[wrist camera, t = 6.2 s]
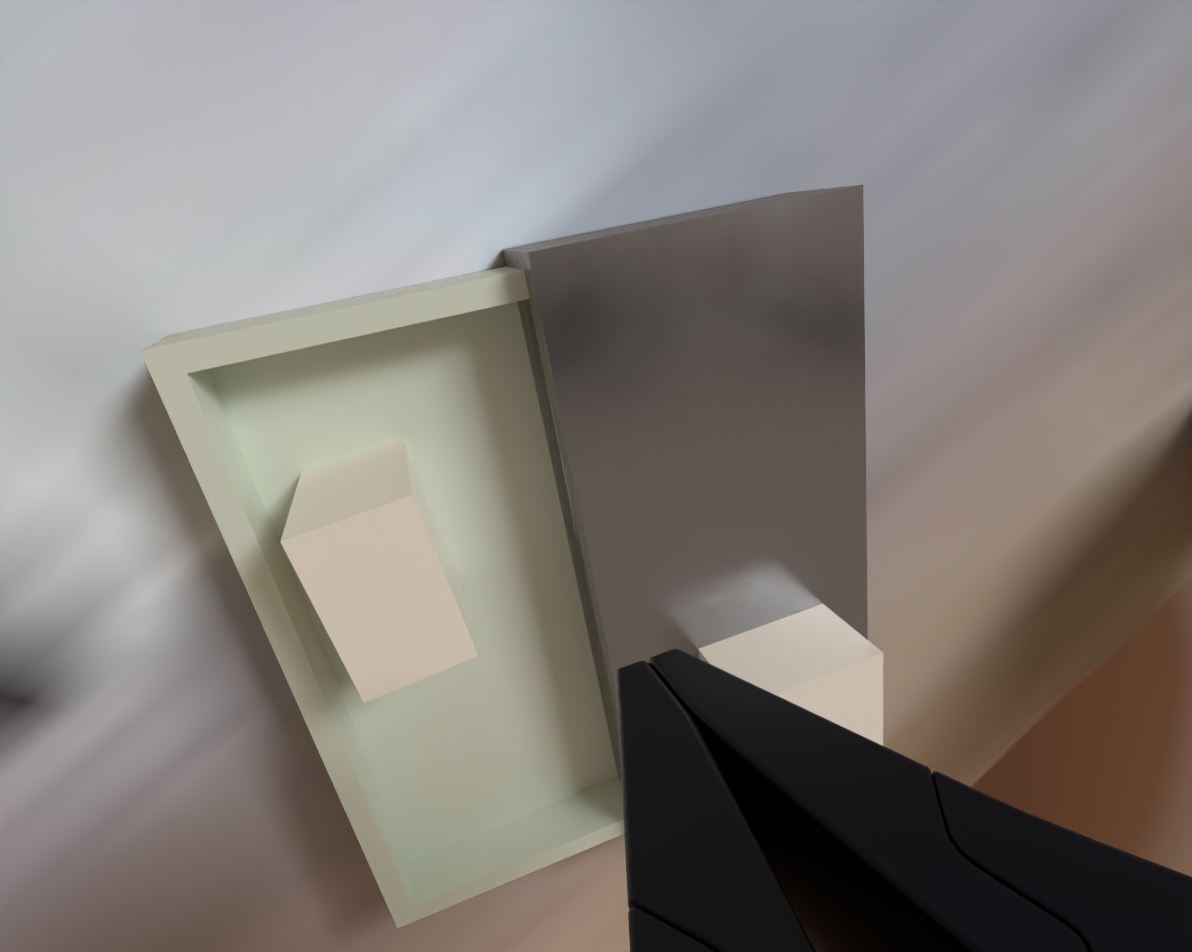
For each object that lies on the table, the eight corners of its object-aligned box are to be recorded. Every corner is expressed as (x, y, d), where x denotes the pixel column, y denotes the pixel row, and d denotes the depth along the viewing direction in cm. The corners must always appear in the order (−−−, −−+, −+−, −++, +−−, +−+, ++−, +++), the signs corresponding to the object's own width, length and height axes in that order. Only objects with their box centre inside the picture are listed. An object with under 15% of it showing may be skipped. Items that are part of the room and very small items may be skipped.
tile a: (412, 495, 13) (279, 542, 12) (478, 656, 14) (364, 703, 14) (403, 437, 16) (301, 472, 16) (456, 571, 18) (365, 606, 17)
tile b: (823, 603, 19) (883, 652, 17) (827, 710, 21) (883, 768, 18) (698, 648, 18) (744, 706, 16) (712, 756, 20) (756, 823, 17)
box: (528, 261, 16) (550, 265, 14) (631, 770, 23) (655, 820, 21) (171, 334, 14) (139, 350, 13) (395, 864, 21) (397, 928, 19)
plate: (788, 192, 18) (862, 184, 15) (815, 705, 25) (868, 763, 22) (502, 249, 16) (528, 252, 13) (617, 785, 23) (649, 857, 20)
